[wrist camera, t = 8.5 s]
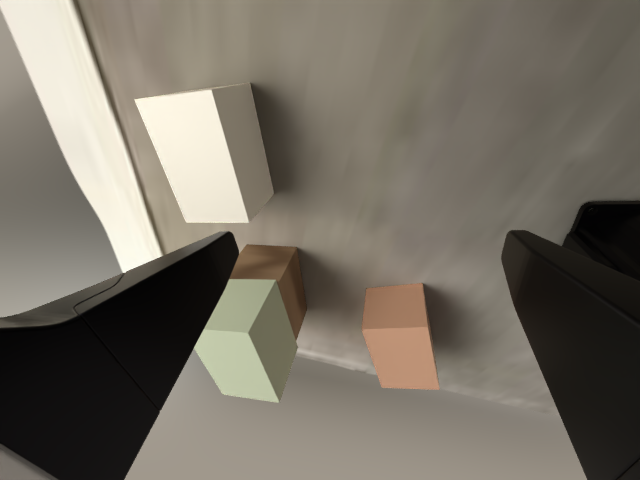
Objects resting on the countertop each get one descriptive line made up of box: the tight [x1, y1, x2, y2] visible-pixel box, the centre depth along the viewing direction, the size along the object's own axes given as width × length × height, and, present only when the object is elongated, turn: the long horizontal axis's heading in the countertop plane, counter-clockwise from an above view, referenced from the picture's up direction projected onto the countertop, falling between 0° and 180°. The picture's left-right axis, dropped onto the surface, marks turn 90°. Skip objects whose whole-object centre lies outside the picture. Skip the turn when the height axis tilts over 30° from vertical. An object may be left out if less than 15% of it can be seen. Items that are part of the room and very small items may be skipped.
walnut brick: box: [230, 245, 307, 340], centre depth 26 cm, size 5×8×5 cm, turn 5°
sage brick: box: [194, 279, 298, 403], centre depth 22 cm, size 5×8×5 cm, turn 9°
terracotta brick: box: [362, 283, 439, 390], centre depth 25 cm, size 5×8×5 cm, turn 18°
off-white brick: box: [134, 83, 274, 223], centre depth 19 cm, size 5×8×5 cm, turn 6°
